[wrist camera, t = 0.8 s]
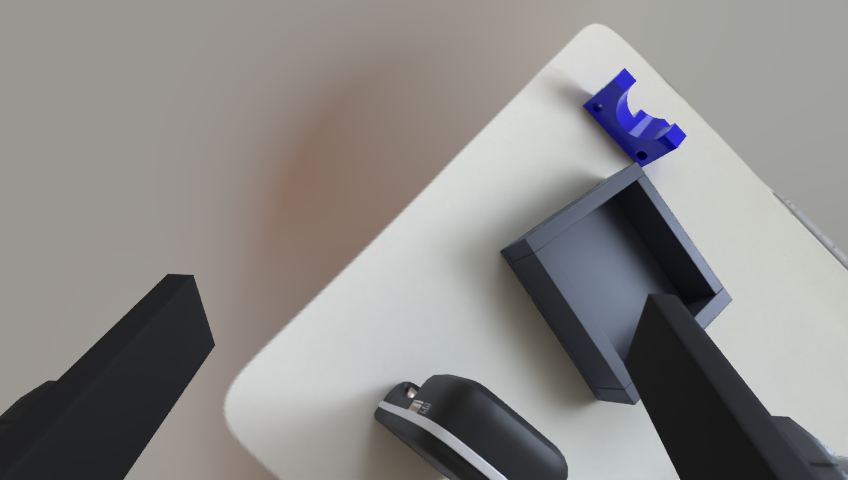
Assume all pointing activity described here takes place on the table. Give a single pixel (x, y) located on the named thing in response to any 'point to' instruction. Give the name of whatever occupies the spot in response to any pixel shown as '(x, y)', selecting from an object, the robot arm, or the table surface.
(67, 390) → the robot arm
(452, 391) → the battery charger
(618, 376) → the dark grey square tray
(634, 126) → the cable holder
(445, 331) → the table surface
